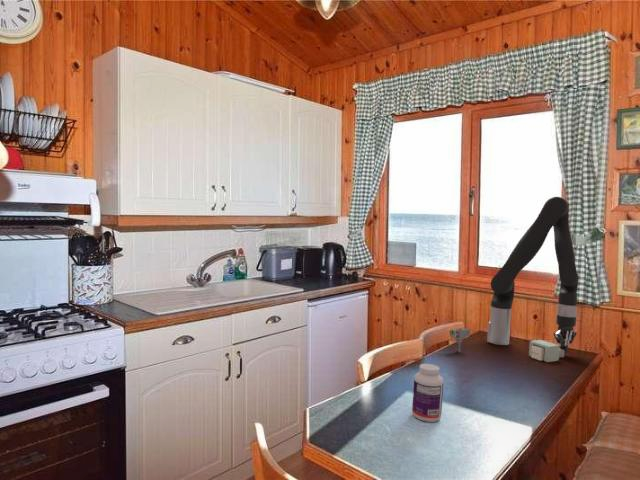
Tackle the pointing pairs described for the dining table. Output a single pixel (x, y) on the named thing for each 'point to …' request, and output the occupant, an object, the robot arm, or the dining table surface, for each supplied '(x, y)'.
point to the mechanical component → (459, 336)
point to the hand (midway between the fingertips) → (563, 353)
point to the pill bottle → (427, 393)
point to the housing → (546, 350)
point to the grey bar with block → (542, 352)
